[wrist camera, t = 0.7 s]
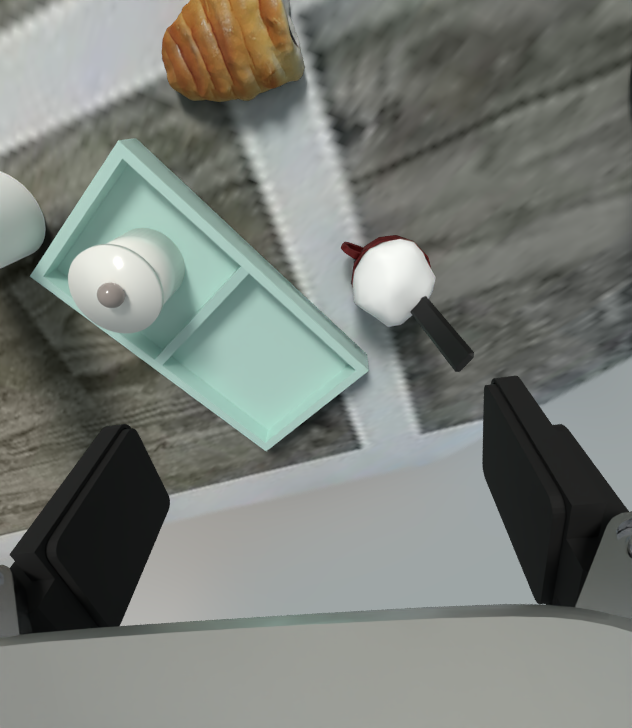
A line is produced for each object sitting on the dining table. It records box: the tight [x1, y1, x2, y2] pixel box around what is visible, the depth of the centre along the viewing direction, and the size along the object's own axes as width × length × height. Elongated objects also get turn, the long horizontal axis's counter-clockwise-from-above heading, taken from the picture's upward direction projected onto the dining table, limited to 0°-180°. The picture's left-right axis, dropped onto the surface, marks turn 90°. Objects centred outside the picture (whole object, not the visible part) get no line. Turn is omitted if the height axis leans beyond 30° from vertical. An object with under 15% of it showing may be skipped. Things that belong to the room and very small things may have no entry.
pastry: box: [162, 0, 305, 102], centre depth 28 cm, size 9×7×4 cm
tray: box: [30, 138, 369, 451], centre depth 38 cm, size 14×26×3 cm, turn 45°
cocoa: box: [341, 235, 474, 372], centre depth 32 cm, size 10×6×12 cm, turn 36°
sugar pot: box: [68, 228, 185, 334], centre depth 33 cm, size 7×7×8 cm
